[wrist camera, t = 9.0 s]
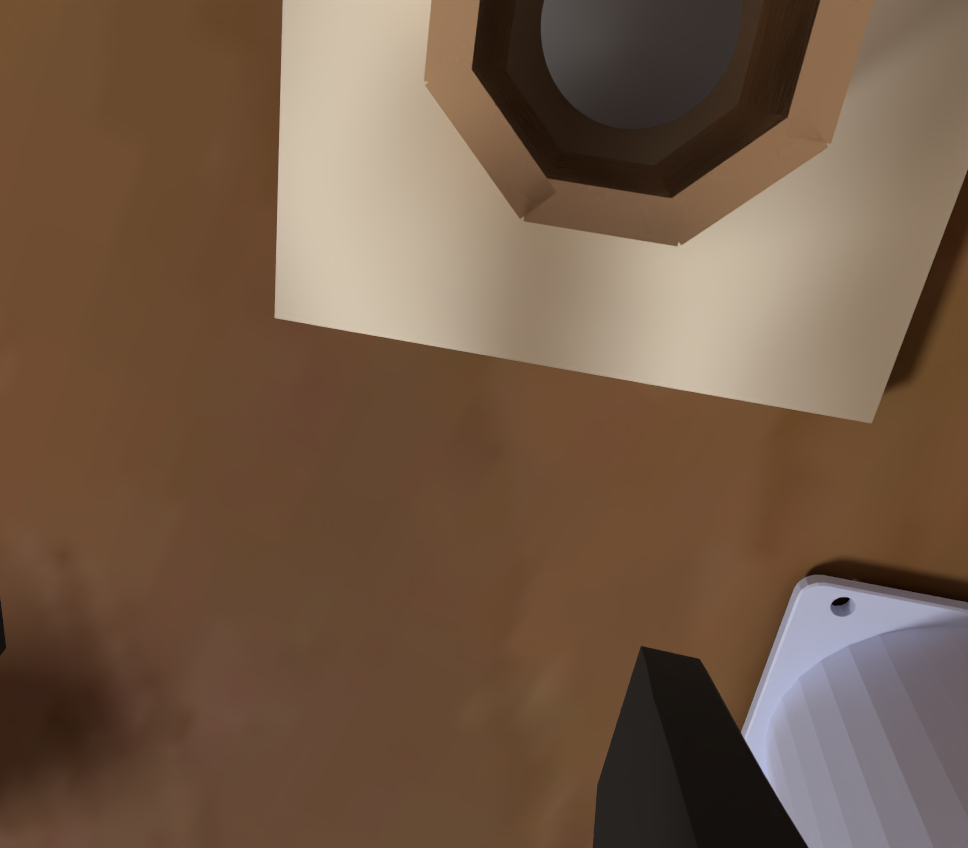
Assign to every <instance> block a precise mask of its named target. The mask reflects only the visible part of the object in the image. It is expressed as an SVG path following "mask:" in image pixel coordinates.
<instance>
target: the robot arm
mask: <svg viewBox="0 0 968 848" xmlns="http://www.w3.org/2000/svg"><path fill="white" fill-rule="evenodd" d="M839 597H848V598H850V599H849V601H848V602H847V603H845V604H843V605H841V606H834V605H832V604H831V603H832V602H833V601H834V600H835V599H837V598H839ZM5 648H6V643H5V635H4V626H3V618H2V609H1V601H0V655H1V654H2V652H3V651H4V650H5ZM593 848H968V602H963V601H958V600H952V599H947V598H942V597H936V596H931V595H926V594H921V593H915V592H910V591H905V590H900V589H894V588H889V587H884V586H879V585H873V584H868V583H863V582H858V581H852V580H847V579H842V578H837V577H831V576H826V575H811V576H808V577H805V578H803V579H802V580H801V581H799V582H798V583H797V585H796V586H795V588H794V590H793V593H792V595H791V598H790V601H789V604H788V606H787V609H786V612H785V614H784V617H783V620H782V623H781V625H780V628H779V631H778V633H777V636H776V639H775V642H774V644H773V647H772V650H771V652H770V655H769V658H768V661H767V663H766V666H765V669H764V671H763V674H762V677H761V680H760V682H759V685H758V688H757V690H756V693H755V696H754V699H753V701H752V704H751V707H750V709H749V712H748V715H747V718H746V720H745V723H744V726H743V728H742V731H741V732H740V730H739V728H738V727H737V725H736V723H735V721H734V719H733V717H732V716H731V714H730V712H729V710H728V708H727V707H726V705H725V703H724V701H723V699H722V697H721V696H720V694H719V692H718V690H717V688H716V686H715V685H714V683H713V681H712V679H711V677H710V675H709V674H708V672H707V670H706V669H705V667H704V665H703V664H702V662H701V661H700V659H697V658H693V657H688V656H684V655H679V654H675V653H670V652H666V651H661V650H656V649H652V648H647V647H643V646H641V648H640V651H639V654H638V657H637V660H636V664H635V667H634V670H633V673H632V676H631V680H630V683H629V686H628V689H627V692H626V696H625V699H624V702H623V705H622V708H621V712H620V715H619V718H618V721H617V724H616V728H615V731H614V734H613V737H612V740H611V744H610V747H609V750H608V753H607V756H606V760H605V763H604V766H603V769H602V772H601V776H600V779H599V782H598V785H597V798H596V812H595V825H594V839H593Z"/></svg>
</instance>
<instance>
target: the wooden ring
mask: <svg viewBox="0 0 968 848" xmlns="http://www.w3.org/2000/svg"><path fill="white" fill-rule="evenodd" d="M515 1H516V0H431V11H430V21H429V31H428V42H427V52H426V63H425V73H424V81H426V82H428V83H427V84H426V85H425V86H426V88H427V89H428V90H429V92H430V93H431V95H432V96H433V97H434V99H435V100H436V102H437V103H438V104H439V106H440V107H441V109H442V110H443V111H444V113H445V114H446V116H447V117H448V118H449V120H450V121H451V123H452V124H453V126H454V127H455V128H456V130H457V131H458V133H459V134H460V135H461V137H462V138H463V140H464V141H465V142H466V144H467V145H468V147H469V148H470V149H471V151H472V152H473V154H474V155H475V156H476V158H477V159H478V161H479V162H480V163H481V165H482V166H483V168H484V169H485V170H486V172H487V173H488V175H489V176H490V178H491V179H492V180H493V182H494V183H495V185H496V186H497V187H498V189H499V190H500V192H501V193H502V194H503V196H504V197H505V199H506V200H507V201H508V203H509V204H510V206H511V207H512V208H513V210H514V211H515V213H516V214H517V215H518V217H519V218H520V219H521V218H523V217H524V220H523V221H525V222H531V223H537V224H543V225H549V226H555V227H561V228H567V229H574V230H580V231H586V232H592V233H598V234H604V235H610V236H616V237H622V238H628V239H634V240H640V241H647V242H653V243H659V244H665V245H671V246H678V242H679V243H680V245H683V244H684V243H686V242H687V241H689V240H690V239H692V238H693V237H695V236H696V235H698V234H699V233H701V232H702V231H704V230H705V229H707V228H708V227H710V226H711V225H713V224H714V223H716V222H717V221H719V220H720V219H722V218H723V217H725V216H726V215H728V214H729V213H731V212H732V211H734V210H735V209H737V208H738V207H740V206H741V205H743V204H744V203H746V202H747V201H749V200H750V199H752V198H753V197H755V196H756V195H758V194H759V193H761V192H762V191H764V190H765V189H767V188H768V187H770V186H771V185H773V184H774V183H776V182H777V181H779V180H780V179H782V178H783V177H785V176H786V175H788V174H789V173H791V172H792V171H794V170H795V169H797V168H798V167H800V166H801V165H803V164H804V163H806V162H807V161H809V160H810V159H812V158H813V157H815V156H816V155H818V154H819V153H820V152H822V151H823V150H825V149H826V148H828V146H827V144H826V143H829V144H831V142H832V139H833V135H834V132H835V129H836V126H837V122H838V119H839V116H840V112H841V109H842V106H843V103H844V99H845V96H846V93H847V89H848V86H849V83H850V79H851V76H852V73H853V70H854V66H855V63H856V60H857V56H858V53H859V50H860V47H861V43H862V40H863V37H864V33H865V30H866V27H867V24H868V20H869V17H870V14H871V10H872V7H873V4H874V1H875V0H765V1H764V5H763V8H762V12H761V16H760V20H759V24H758V28H757V32H756V36H755V40H754V44H753V48H752V52H751V56H750V60H749V64H748V68H747V72H746V76H745V80H744V84H743V88H742V92H741V96H740V100H739V104H738V105H737V106H736V107H734V108H733V109H732V110H730V111H729V112H727V113H726V114H725V115H723V116H722V117H720V118H719V119H718V120H716V121H715V122H714V123H712V124H711V125H709V126H708V127H707V128H705V129H704V130H702V131H701V132H700V133H698V134H697V135H695V136H694V137H693V138H691V139H690V140H688V141H687V142H686V143H684V144H683V145H682V146H680V147H679V148H677V149H676V150H675V151H673V152H672V153H670V154H669V155H668V156H666V157H665V158H663V159H662V160H661V161H659V162H658V163H656V164H655V165H648V164H642V163H635V162H629V161H623V160H616V159H610V158H604V157H597V156H591V155H585V154H578V153H572V152H566V151H561V150H560V148H559V147H558V145H557V144H556V142H555V141H554V139H553V138H552V136H551V135H550V133H549V132H548V131H547V129H546V128H545V126H544V125H543V123H542V122H541V120H540V119H539V117H538V116H537V114H536V113H535V111H534V110H533V108H532V107H531V105H530V104H529V103H528V101H527V100H526V98H525V97H524V95H523V94H522V92H521V91H520V89H519V88H518V86H517V85H516V83H515V82H514V80H513V79H512V77H511V76H510V74H509V73H508V72H507V70H506V67H507V60H508V53H509V45H510V38H511V30H512V23H513V16H514V8H515Z"/></svg>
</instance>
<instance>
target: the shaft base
mask: <svg viewBox="0 0 968 848" xmlns="http://www.w3.org/2000/svg"><path fill="white" fill-rule="evenodd" d="M764 1H765V0H516V1H515V8H514V16H513V23H512V30H511V38H510V45H509V53H508V60H507V67H506V70H507V72H508V73H509V74H510V76H511V77H512V79H513V80H514V82H515V83H516V85H517V86H518V88H519V89H520V91H521V92H522V94H523V95H524V97H525V98H526V100H527V101H528V103H529V104H530V105H531V107H532V108H533V110H534V111H535V113H536V114H537V116H538V117H539V119H540V120H541V122H542V123H543V125H544V126H545V128H546V129H547V131H548V132H549V133H550V135H551V136H552V138H553V139H554V141H555V142H556V144H557V145H558V147H559V148H560V150H561V151H566V152H572V153H578V154H585V155H591V156H597V157H604V158H610V159H616V160H623V161H629V162H635V163H642V164H648V165H655V164H656V163H658V162H659V161H661V160H662V159H663V158H665V157H666V156H668V155H669V154H670V153H672V152H673V151H675V150H676V149H677V148H679V147H680V146H682V145H683V144H684V143H686V142H687V141H688V140H690V139H691V138H693V137H694V136H695V135H697V134H698V133H700V132H701V131H702V130H704V129H705V128H707V127H708V126H709V125H711V124H712V123H714V122H715V121H716V120H718V119H719V118H720V117H722V116H723V115H725V114H726V113H727V112H729V111H730V110H732V109H733V108H734V107H736V106H737V105H738V104H739V100H740V96H741V92H742V88H743V84H744V80H745V76H746V72H747V68H748V64H749V60H750V56H751V52H752V48H753V44H754V40H755V36H756V32H757V28H758V24H759V20H760V16H761V12H762V8H763V5H764ZM430 11H431V0H283V18H282V57H281V96H280V134H279V173H278V211H277V250H276V289H275V318H278V319H284V320H289V321H295V322H301V323H306V324H312V325H318V326H323V327H329V328H335V329H340V330H346V331H352V332H357V333H363V334H369V335H374V336H380V337H386V338H391V339H397V340H403V341H408V342H414V343H420V344H425V345H431V346H437V347H442V348H448V349H454V350H459V351H465V352H471V353H476V354H482V355H488V356H493V357H499V358H504V359H510V360H516V361H521V362H527V363H533V364H538V365H544V366H550V367H555V368H561V369H567V370H572V371H578V372H584V373H589V374H595V375H601V376H606V377H612V378H618V379H623V380H629V381H635V382H640V383H646V384H652V385H657V386H663V387H669V388H674V389H680V390H686V391H691V392H697V393H703V394H708V395H714V396H720V397H725V398H731V399H737V400H742V401H748V402H754V403H759V404H765V405H770V406H776V407H782V408H787V409H793V410H799V411H804V412H810V413H816V414H821V415H827V416H833V417H838V418H844V419H850V420H855V421H861V422H867V423H872V421H873V419H874V416H875V413H876V411H877V408H878V405H879V403H880V400H881V397H882V395H883V392H884V390H885V387H886V384H887V382H888V379H889V376H890V374H891V371H892V368H893V366H894V363H895V360H896V358H897V355H898V353H899V350H900V347H901V345H902V342H903V339H904V337H905V334H906V331H907V329H908V326H909V323H910V321H911V318H912V316H913V313H914V310H915V308H916V305H917V302H918V300H919V297H920V294H921V292H922V289H923V286H924V284H925V281H926V279H927V276H928V273H929V271H930V268H931V265H932V263H933V260H934V257H935V255H936V252H937V249H938V247H939V244H940V242H941V239H942V236H943V234H944V231H945V228H946V226H947V223H948V220H949V218H950V215H951V212H952V210H953V207H954V205H955V202H956V199H957V197H958V194H959V191H960V189H961V186H962V183H963V181H964V178H965V175H966V173H967V170H968V0H875V1H874V4H873V7H872V10H871V14H870V17H869V20H868V24H867V27H866V30H865V33H864V37H863V40H862V43H861V47H860V50H859V53H858V56H857V60H856V63H855V66H854V70H853V73H852V76H851V79H850V83H849V86H848V89H847V93H846V96H845V99H844V103H843V106H842V109H841V112H840V116H839V119H838V122H837V126H836V129H835V132H834V135H833V139H832V142H831V144H829V143H826V144H827V146H828V148H826V149H825V150H823V151H822V152H820V153H819V154H818V155H816V156H815V157H813V158H812V159H810V160H809V161H807V162H806V163H804V164H803V165H801V166H800V167H798V168H797V169H795V170H794V171H792V172H791V173H789V174H788V175H786V176H785V177H783V178H782V179H780V180H779V181H777V182H776V183H774V184H773V185H771V186H770V187H768V188H767V189H765V190H764V191H762V192H761V193H759V194H758V195H756V196H755V197H753V198H752V199H750V200H749V201H747V202H746V203H744V204H743V205H741V206H740V207H738V208H737V209H735V210H734V211H732V212H731V213H729V214H728V215H726V216H725V217H723V218H722V219H720V220H719V221H717V222H716V223H714V224H713V225H711V226H710V227H708V228H707V229H705V230H704V231H702V232H701V233H699V234H698V235H696V236H695V237H693V238H692V239H690V240H689V241H687V242H686V243H684V244H683V245H680V243H679V242H678V246H671V245H665V244H659V243H653V242H647V241H640V240H634V239H628V238H622V237H616V236H610V235H604V234H598V233H592V232H586V231H580V230H574V229H567V228H561V227H555V226H549V225H543V224H537V223H531V222H525V221H523V220H524V217H523V218H521V219H520V218H519V217H518V215H517V214H516V213H515V211H514V210H513V208H512V207H511V206H510V204H509V203H508V201H507V200H506V199H505V197H504V196H503V194H502V193H501V192H500V190H499V189H498V187H497V186H496V185H495V183H494V182H493V180H492V179H491V178H490V176H489V175H488V173H487V172H486V170H485V169H484V168H483V166H482V165H481V163H480V162H479V161H478V159H477V158H476V156H475V155H474V154H473V152H472V151H471V149H470V148H469V147H468V145H467V144H466V142H465V141H464V140H463V138H462V137H461V135H460V134H459V133H458V131H457V130H456V128H455V127H454V126H453V124H452V123H451V121H450V120H449V118H448V117H447V116H446V114H445V113H444V111H443V110H442V109H441V107H440V106H439V104H438V103H437V102H436V100H435V99H434V97H433V96H432V95H431V93H430V92H429V90H428V89H427V88H426V86H425V85H426V84H427V83H428V82H426V81H424V73H425V63H426V52H427V42H428V31H429V21H430Z"/></svg>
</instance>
